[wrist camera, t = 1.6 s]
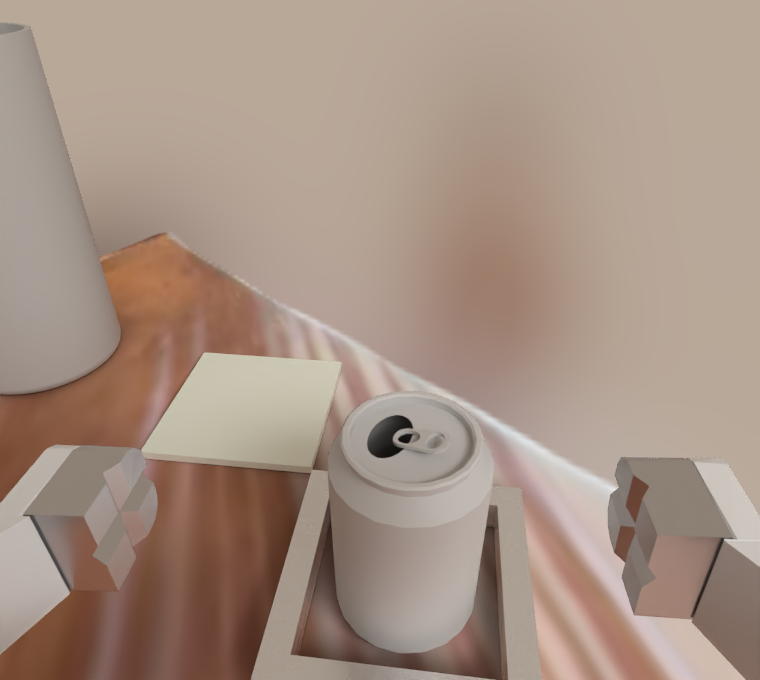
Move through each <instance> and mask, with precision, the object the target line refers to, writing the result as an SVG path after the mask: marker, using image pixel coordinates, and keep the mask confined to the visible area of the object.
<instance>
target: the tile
mask: <svg viewBox="0 0 760 680" xmlns="http://www.w3.org/2000/svg"><path fill="white" fill-rule="evenodd" d="M341 370H342V362H333V361H319V360H305V359H290V358H276V357H262V356H247V355H233V354H219V353H205V352H204V354H203V355H202V357H201V358H200V360H199V361H198V363H197V364H196V366H195V368H194V369H193V371H192V372H191V374H190V375H189V377H188V378H187V380H186V381H185V383H184V385H183V386H182V388H181V389H180V391H179V392H178V394H177V395H176V397H175V398H174V400H173V402H172V403H171V405H170V406H169V408H168V409H167V411H166V412H165V414H164V415H163V417H162V419H161V420H160V422H159V423H158V425H157V426H156V428H155V429H154V431H153V432H152V434H151V436H150V437H149V439H148V440H147V442H146V443H145V445H144V446H143V448H142V449H141V451H142V453H143V456H144V458H145V459H156V460H167V461H178V462H189V463H200V464H212V465H223V466H234V467H245V468H256V469H267V470H278V471H290V472H301V473H311V471H312V470H313V466H314V463H315V460H316V456H317V453H318V449H319V446H320V442H321V439H322V436H323V432H324V429H325V425H326V422H327V418H328V415H329V411H330V408H331V405H332V401H333V398H334V394H335V391H336V387H337V384H338V381H339V377H340V374H341Z"/></svg>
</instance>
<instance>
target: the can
mask: <svg viewBox="0 0 760 680" xmlns="http://www.w3.org/2000/svg"><path fill="white" fill-rule="evenodd" d="M494 471H495V464H494V461H493V457H492V453H491V450H490V447H489V446H488V444H487V443H486V442H485V440H484V439H483V436H482V432H481V428H480V426H479V424H478V423H477V422H476V420H475V419H474V418H473V416H472V415H471V414H470V412H468V411H467V410H465V409H464V408H463V407H461V406H460V405H458V404H457V403H456V402H454V401H452V400H449V399H447V398H444V397H442V396H439V395H437V394H432V393H426V392H421V391H395V392H391V393H387V394H383V395H378V396H376V397H374V398H372V399H370V400H368V401H366V402H364V403H362V404H360V405H359V406H358V407H357V408H356V409H355V410H354V411H352V412H351V413H350V414H349V415H348V416H347V418H346V420H345V422H344V425H343V427H342V429H341V432H340V433H339V434H338V435H337V436H336V438H335V440H334V442H333V444H332V446H331V448H330V450H329V452H328V485H329V499H330V513H331V526H332V540H333V553H334V567H335V581H336V594H337V599H338V602H339V605H340V608H341V611H342V614H343V617H344V618H345V619H346V621H347V622H348V623H349V625H350V626H351V627H352V628H353V630H354V631H355V632H356V634H357V635H359V636H360V637H362V638H363V639H365V640H366V641H368V642H369V643H371V644H372V645H374V646H375V647H378V648H381V649H385V650H388V651H392V652H396V653H399V654H402V653H424V652H426V651H429V650H432V649H434V648H437V647H439V646H442V645H445V644H446V643H447V642H449V641H450V640H451V639H452V638H453V637H454V636H456V635H457V634H458V633H459V632H460V631H462V630H463V628H464V626H465V624H466V622H467V621H468V619H469V617H470V615H471V614H472V612H473V606H474V600H475V593H476V587H477V580H478V574H479V567H480V561H481V554H482V548H483V542H484V535H485V529H486V522H487V516H488V509H489V503H490V497H491V490H492V484H493V477H494Z"/></svg>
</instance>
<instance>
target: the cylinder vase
mask: <svg viewBox="0 0 760 680" xmlns="http://www.w3.org/2000/svg"><path fill="white" fill-rule="evenodd" d="M120 338H121V329H120V325H119V322H118V318H117V315H116V311H115V308H114V305H113V301H112V298H111V295H110V291H109V288H108V285H107V281H106V278H105V275H104V271H103V268H102V265H101V261H100V258H99V255H98V251H97V248H96V245H95V241H94V238H93V234H92V231H91V228H90V224H89V221H88V218H87V215H86V211H85V208H84V204H83V201H82V198H81V194H80V191H79V188H78V184H77V181H76V178H75V174H74V171H73V167H72V164H71V161H70V157H69V154H68V151H67V147H66V145H65V141H64V137H63V134H62V131H61V127H60V124H59V121H58V117H57V114H56V110H55V108H54V104H53V100H52V97H51V94H50V91H49V87H48V84H47V81H46V77H45V74H44V70H43V67H42V64H41V61H40V57H39V54H38V50H37V47H36V44H35V41H34V37H33V33H32V30H31V27H30V26H28V25H23V24H15V23H0V394H2V395H20V394H29V393H36V392H41V391H45V390H49V389H53V388H56V387H60V386H63V385H65V384H68V383H70V382H73V381H75V380H77V379H79V378H81V377H83V376H85V375H87V374H89V373H90V372H92V371H94V370H95V369H97V368H98V367H99V366H101V365H102V364H103V363H104V362H105V361H107V360H108V359H109V358H110V356H111V355H112V354H113V353H114V351H115V350H116V348H117V346H118V344H119V342H120Z"/></svg>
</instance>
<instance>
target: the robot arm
mask: <svg viewBox="0 0 760 680" xmlns="http://www.w3.org/2000/svg"><path fill="white" fill-rule="evenodd" d="M146 465H147V463H146V461H145V458H144V456H143V453H142V451H141V450H139V449H136V448H130V447H108V446H86V445H82V446H72V445H54V446H52V447H49V448H47V449H46V450H45V451H44V452H43V453H42V455H41V456H40V457H39V458H38V459H37V460H36V462H35V463H34V464H33V465H32V466H31V468H30V469H29V470H28V471H27V472H26V474H25V475H24V476H23V477H22V478H21V479H20V481H19V482H18V483H17V484H16V485H15V487H14V488H13V489H12V490H11V491H10V492H9V494H8V495H7V496H6V497H5V498H4V500H3V501H2V502H1V503H0V654H1V653H3V652H4V651H5V650H6V649H7V648H8V647H9V646H11V645H12V644H13V643H14V642H15V641H16V640H18V639H19V638H20V637H21V636H22V635H23V634H24V633H26V632H27V631H28V630H29V629H30V628H31V627H32V626H34V625H35V624H36V623H37V622H38V621H39V620H40V619H42V618H43V617H44V616H45V615H46V614H47V613H48V612H50V611H51V610H52V609H53V608H54V607H55V606H56V605H58V604H59V603H60V602H61V601H62V600H63V599H65V598H66V597H67V596H68V595H69V594H70V591H119V590H120V588H121V586H122V584H123V582H124V580H125V578H126V576H127V574H128V573H129V571H130V569H131V567H132V565H133V563H134V561H135V559H136V554H135V550H134V546H135V545H136V544H137V543H139V542H140V541H142V540H143V539H144V538H146V537H147V536H148V534H149V532H150V530H151V528H152V526H153V524H154V522H155V517H156V512H157V508H158V500H157V492H156V489H155V486H154V483H153V482H152V481H151V480H150V479H148V478H147V477H146V476H145V475H144V474H142V472H143V470H144V469H145V467H146ZM615 477H616V480H617V483H618V486H619V488H618V489H617V490H616V491H614V492H613V493H612V494H611V495H610V500H609V505H608V529H609V535H610V540H611V543H612V547H613V550H614V553H615V554H616V555H617V556H619V557H620V558H621V559H622V560H623V561H624V562H625V566H624V570H623V574H622V579H623V582H624V586H625V589H626V592H627V595H628V598H629V601H630V604H631V608H632V611H633V614H634V615H639V616H653V617H666V618H680V619H693V620H692V623H693V624H694V625H695V626H696V627H697V628H698V629H699V630H700V631H701V632H702V634H703V635H704V636H705V637H706V638H707V639H708V640H709V641H710V642H711V643H712V644H713V645H714V646H715V647H716V648H717V649H718V651H719V652H720V653H721V654H722V655H723V656H724V657H725V658H726V659H727V660H728V661H729V662H730V663H731V664H732V665H733V666H734V667H735V669H736V670H737V671H738V672H739V673H740V674H741V675H742V676H743V677H744V678H745V679H746V680H760V517H759V515H758V513H757V511H756V510H755V508H754V506H753V505H752V503H751V501H750V500H749V498H748V497H747V495H746V493H745V492H744V490H743V489H742V487H741V485H740V484H739V482H738V480H737V479H736V477H735V475H734V474H733V472H732V470H731V469H730V467H729V466H728V464H727V462H725V461H724V460H722V459H721V458H686V459H684V458H637V457H636V458H635V457H631V458H630V457H621V459H620V461H619V462H618V464H617V469H616V472H615Z"/></svg>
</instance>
